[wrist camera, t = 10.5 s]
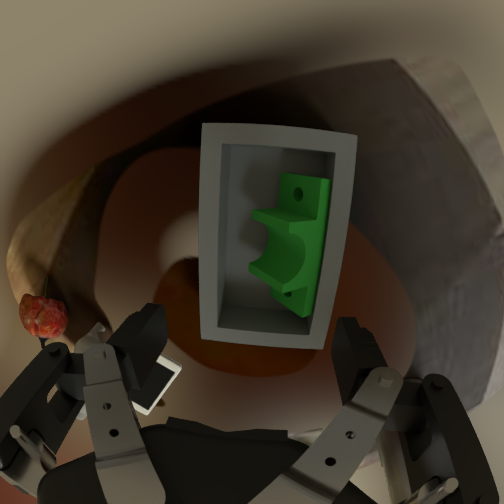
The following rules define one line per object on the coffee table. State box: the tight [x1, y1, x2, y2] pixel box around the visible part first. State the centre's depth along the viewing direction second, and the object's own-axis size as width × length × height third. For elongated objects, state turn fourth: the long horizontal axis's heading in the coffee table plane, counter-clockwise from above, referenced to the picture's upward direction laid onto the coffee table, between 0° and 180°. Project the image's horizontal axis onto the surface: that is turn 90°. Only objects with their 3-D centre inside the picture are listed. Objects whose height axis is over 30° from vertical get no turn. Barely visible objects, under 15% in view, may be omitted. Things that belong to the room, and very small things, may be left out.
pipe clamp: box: [248, 172, 332, 318], centre depth 21 cm, size 11×4×5 cm
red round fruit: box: [19, 276, 69, 349], centre depth 28 cm, size 7×7×10 cm
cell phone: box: [129, 353, 182, 415], centre depth 34 cm, size 8×16×1 cm, turn 147°
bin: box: [199, 123, 357, 349], centre depth 23 cm, size 18×11×5 cm, turn 177°
